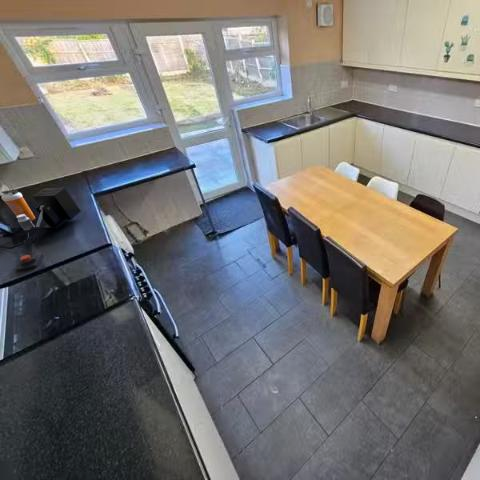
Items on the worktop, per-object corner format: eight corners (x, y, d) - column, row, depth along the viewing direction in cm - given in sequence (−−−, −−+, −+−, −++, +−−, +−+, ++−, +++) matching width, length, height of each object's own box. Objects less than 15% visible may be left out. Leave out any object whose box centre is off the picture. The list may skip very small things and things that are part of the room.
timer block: (38, 268, 141) (32, 262, 139) (18, 272, 139) (13, 267, 136) (44, 256, 148) (39, 251, 146) (26, 260, 146) (20, 255, 143)
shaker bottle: (25, 217, 180) (5, 189, 169) (40, 215, 181) (21, 188, 170) (15, 223, 172) (-6, 195, 161) (31, 222, 174) (11, 193, 162)
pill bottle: (36, 227, 170) (27, 214, 165) (25, 231, 166) (16, 218, 161) (33, 225, 172) (24, 213, 167) (22, 229, 169) (13, 216, 164)
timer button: (30, 260, 141) (27, 258, 139) (21, 262, 139) (19, 260, 138) (32, 256, 143) (30, 253, 142) (24, 258, 142) (21, 255, 141)
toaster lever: (43, 229, 161) (40, 228, 159) (33, 230, 161) (29, 228, 159) (51, 207, 167) (47, 205, 164) (40, 207, 166) (37, 205, 164)
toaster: (71, 219, 177) (53, 195, 165) (51, 220, 176) (31, 196, 165) (81, 211, 184) (64, 187, 173) (61, 212, 184) (43, 188, 172)
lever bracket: (56, 228, 169) (42, 210, 160) (43, 229, 168) (28, 210, 160) (67, 219, 176) (54, 201, 168) (54, 220, 176) (40, 202, 167)
